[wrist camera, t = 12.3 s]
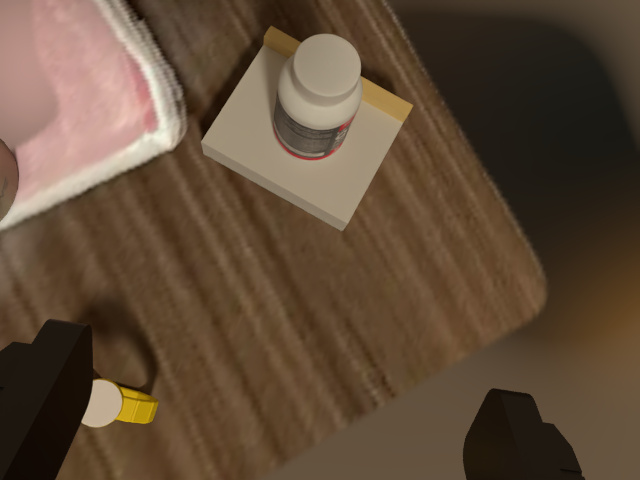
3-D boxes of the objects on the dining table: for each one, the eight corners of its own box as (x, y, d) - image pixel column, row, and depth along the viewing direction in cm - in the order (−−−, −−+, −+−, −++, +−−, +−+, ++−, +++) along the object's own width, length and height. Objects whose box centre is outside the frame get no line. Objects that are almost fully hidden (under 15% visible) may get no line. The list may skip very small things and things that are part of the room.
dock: (203, 153, 44) (199, 135, 41) (269, 51, 47) (270, 25, 43) (342, 231, 44) (350, 219, 41) (400, 125, 47) (413, 105, 43)
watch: (165, 387, 41) (158, 394, 35) (151, 427, 40) (143, 441, 35) (79, 363, 40) (58, 366, 34) (64, 404, 40) (40, 413, 34)
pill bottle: (343, 167, 43) (371, 112, 33) (269, 161, 42) (276, 102, 33) (346, 99, 44) (374, 27, 34) (275, 91, 43) (283, 15, 34)
